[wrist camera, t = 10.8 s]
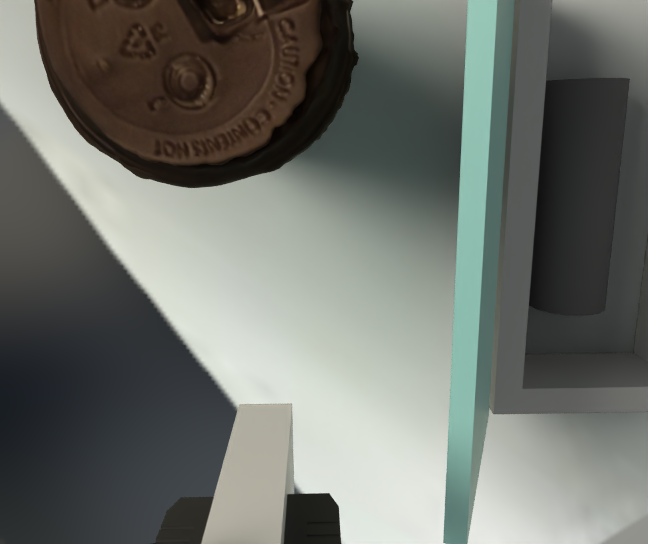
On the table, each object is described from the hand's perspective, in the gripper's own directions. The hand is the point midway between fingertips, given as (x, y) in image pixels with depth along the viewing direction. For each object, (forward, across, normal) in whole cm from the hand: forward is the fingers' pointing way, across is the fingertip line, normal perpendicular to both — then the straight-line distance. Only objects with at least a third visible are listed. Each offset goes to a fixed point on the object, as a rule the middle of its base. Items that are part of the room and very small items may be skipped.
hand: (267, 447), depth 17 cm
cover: (+4, +8, +5) cm, 10 cm away
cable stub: (+13, +14, +6) cm, 20 cm away
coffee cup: (+13, -2, +12) cm, 17 cm away
